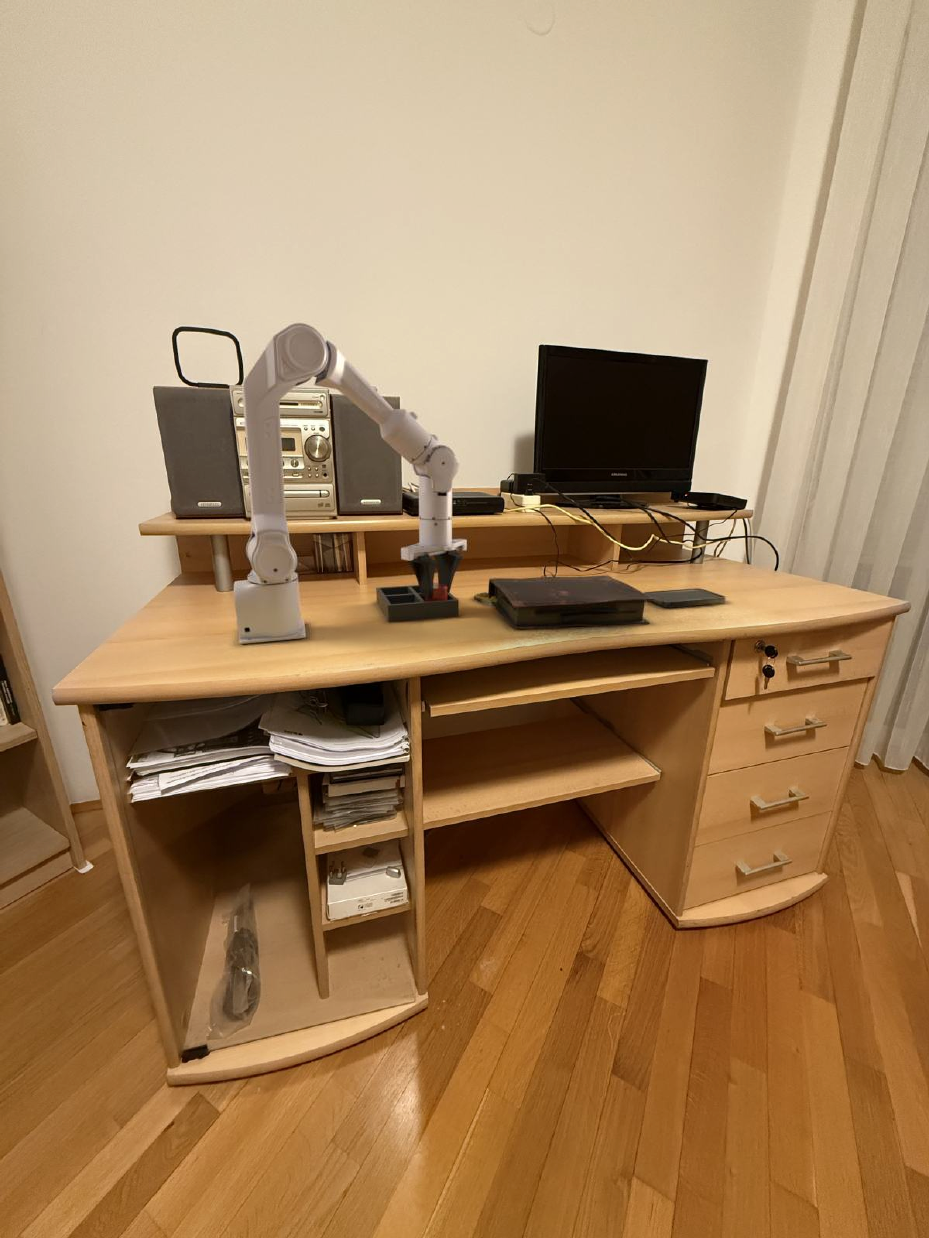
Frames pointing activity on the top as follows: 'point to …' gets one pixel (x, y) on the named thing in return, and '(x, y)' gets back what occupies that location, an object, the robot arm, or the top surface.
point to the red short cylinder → (438, 592)
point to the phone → (685, 597)
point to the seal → (485, 598)
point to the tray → (413, 604)
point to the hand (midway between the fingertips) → (435, 594)
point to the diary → (567, 602)
